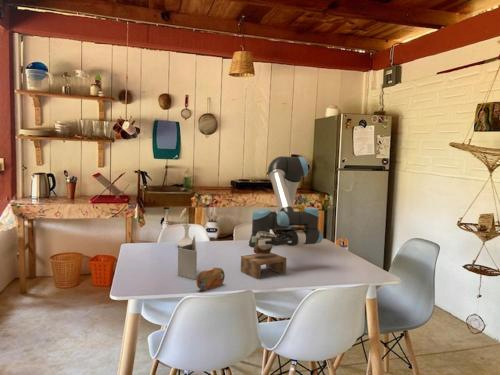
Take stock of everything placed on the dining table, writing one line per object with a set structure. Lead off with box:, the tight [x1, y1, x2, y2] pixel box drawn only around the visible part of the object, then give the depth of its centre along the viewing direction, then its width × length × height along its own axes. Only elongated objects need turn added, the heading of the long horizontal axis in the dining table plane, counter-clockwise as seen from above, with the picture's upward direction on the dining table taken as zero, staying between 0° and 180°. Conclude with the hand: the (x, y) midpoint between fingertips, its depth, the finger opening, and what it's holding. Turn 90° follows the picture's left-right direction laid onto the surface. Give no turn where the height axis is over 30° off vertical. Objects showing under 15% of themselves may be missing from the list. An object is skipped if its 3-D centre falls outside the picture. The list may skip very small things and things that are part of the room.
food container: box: [253, 231, 277, 254], centre depth 202 cm, size 12×6×10 cm, turn 130°
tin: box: [196, 267, 226, 291], centre depth 177 cm, size 15×3×8 cm, turn 138°
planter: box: [177, 235, 198, 280], centre depth 194 cm, size 16×8×19 cm, turn 15°
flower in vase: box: [177, 207, 193, 247], centre depth 250 cm, size 13×11×25 cm
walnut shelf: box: [240, 251, 288, 280], centre depth 202 cm, size 14×18×8 cm
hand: (255, 241), depth 199 cm, fingers closed on food container, 7 cm apart
